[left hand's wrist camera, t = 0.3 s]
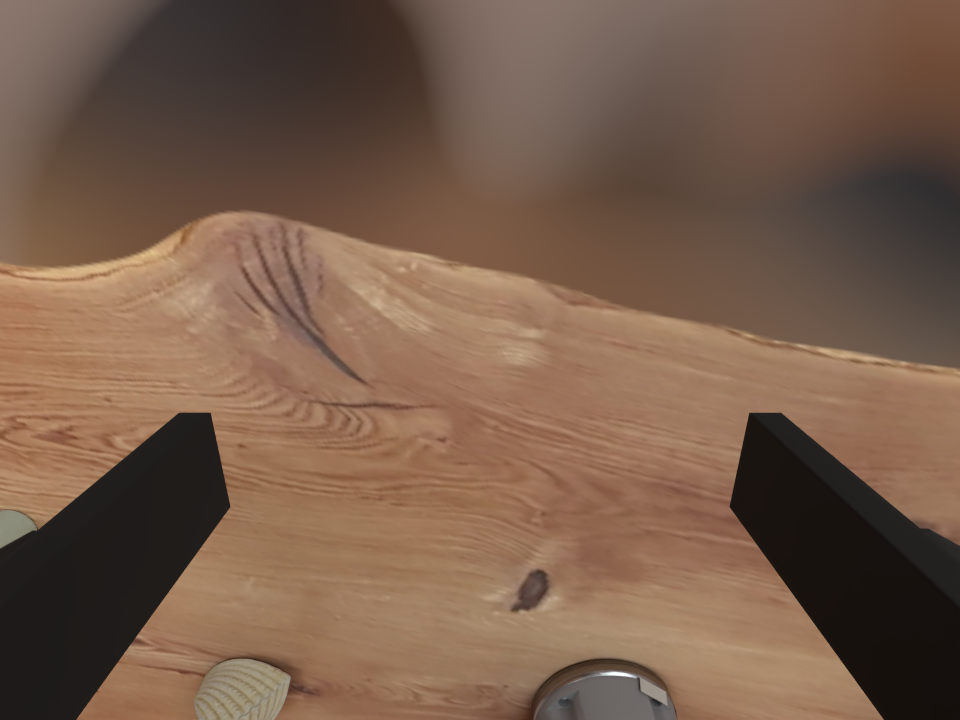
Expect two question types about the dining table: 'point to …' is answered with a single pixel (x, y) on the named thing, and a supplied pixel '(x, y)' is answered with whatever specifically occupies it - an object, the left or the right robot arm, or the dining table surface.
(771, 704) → the dining table surface
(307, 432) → the dining table surface
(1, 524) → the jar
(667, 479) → the dining table surface
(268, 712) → the seashell
